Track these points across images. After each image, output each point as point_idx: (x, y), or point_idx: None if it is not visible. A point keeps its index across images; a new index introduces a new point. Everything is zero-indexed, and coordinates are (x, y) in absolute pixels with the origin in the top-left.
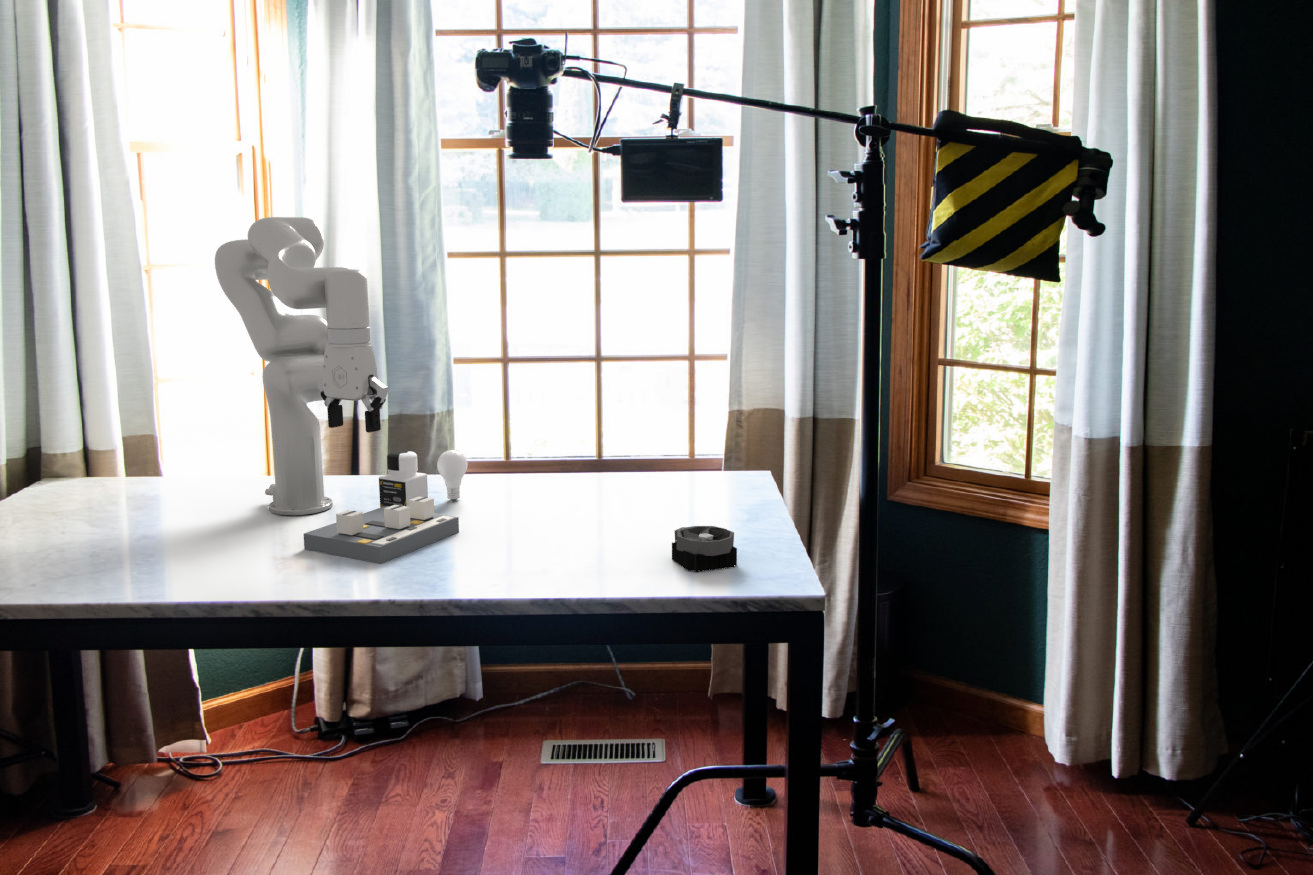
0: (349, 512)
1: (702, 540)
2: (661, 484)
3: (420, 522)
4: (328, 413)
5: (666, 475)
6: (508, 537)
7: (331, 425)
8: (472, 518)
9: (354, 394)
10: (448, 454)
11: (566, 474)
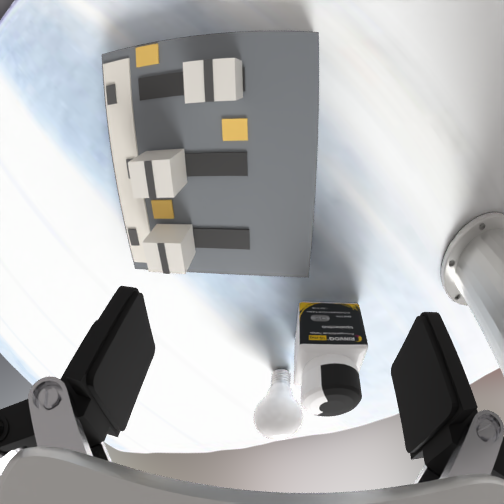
0: (209, 82)
1: None
2: (139, 433)
3: (152, 209)
4: (458, 372)
5: (159, 448)
6: (79, 261)
7: (422, 320)
8: (187, 317)
9: (50, 499)
10: (274, 428)
11: (236, 448)
